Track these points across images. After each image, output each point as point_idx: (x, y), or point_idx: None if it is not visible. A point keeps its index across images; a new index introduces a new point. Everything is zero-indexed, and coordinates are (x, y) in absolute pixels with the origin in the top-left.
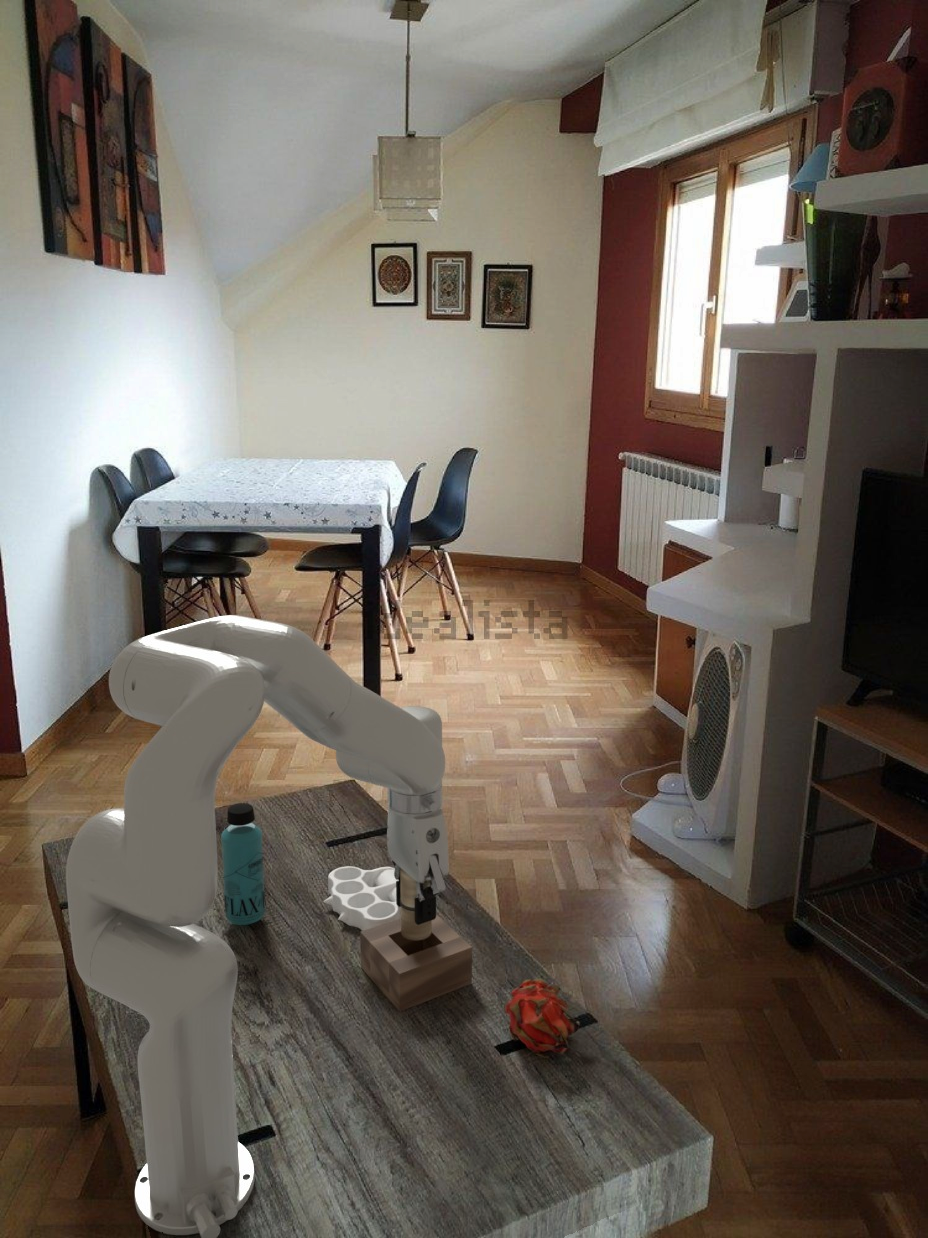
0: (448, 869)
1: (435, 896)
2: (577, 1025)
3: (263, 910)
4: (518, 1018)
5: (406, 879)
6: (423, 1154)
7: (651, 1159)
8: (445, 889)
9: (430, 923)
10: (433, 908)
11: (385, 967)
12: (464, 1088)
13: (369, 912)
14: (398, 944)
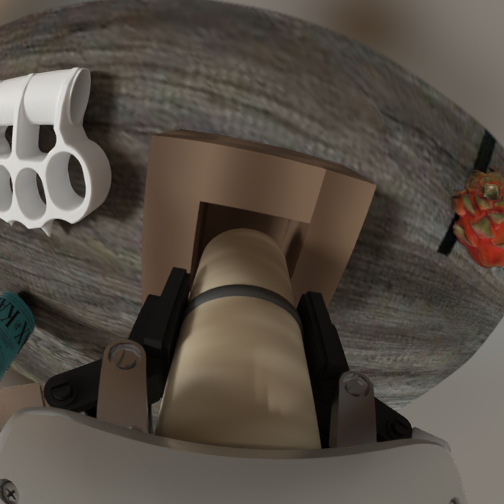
0: (457, 469)
1: (358, 379)
2: None
3: (21, 309)
4: (490, 267)
5: None
6: (423, 367)
7: None
8: (447, 443)
9: (287, 272)
10: (340, 345)
11: None
12: (430, 314)
13: (56, 195)
14: (196, 251)
